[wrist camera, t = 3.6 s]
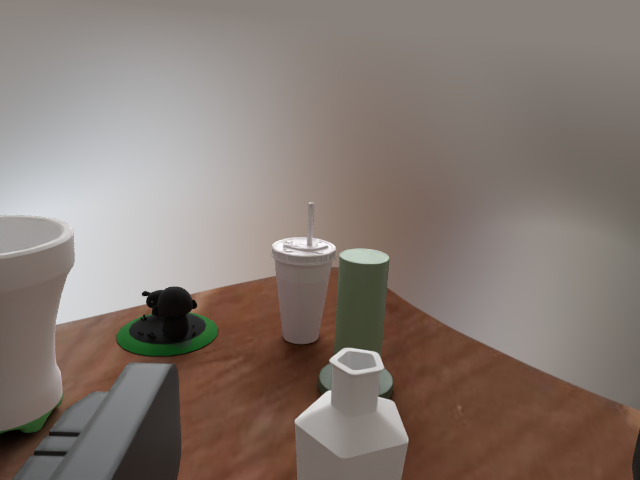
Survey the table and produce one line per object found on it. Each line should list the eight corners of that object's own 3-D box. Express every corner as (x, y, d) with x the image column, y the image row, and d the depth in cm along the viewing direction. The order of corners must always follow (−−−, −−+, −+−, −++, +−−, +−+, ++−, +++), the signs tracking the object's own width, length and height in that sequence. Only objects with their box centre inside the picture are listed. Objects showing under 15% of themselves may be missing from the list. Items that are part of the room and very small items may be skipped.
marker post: (363, 418, 44) (374, 275, 40) (303, 388, 48) (308, 255, 44) (406, 387, 48) (419, 256, 45) (348, 361, 52) (356, 239, 49)
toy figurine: (199, 306, 63) (198, 258, 61) (233, 342, 55) (233, 288, 53) (107, 322, 58) (103, 270, 56) (129, 365, 50) (125, 305, 48)
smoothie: (333, 351, 54) (341, 211, 50) (267, 350, 54) (270, 209, 50) (329, 323, 60) (336, 197, 56) (270, 321, 60) (273, 194, 56)
